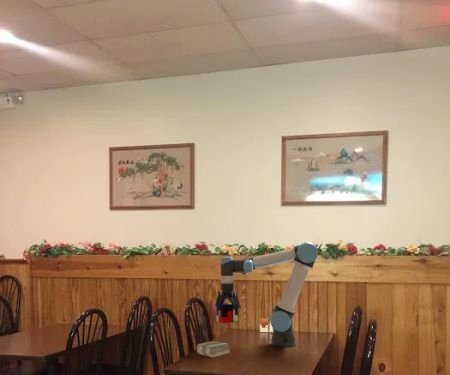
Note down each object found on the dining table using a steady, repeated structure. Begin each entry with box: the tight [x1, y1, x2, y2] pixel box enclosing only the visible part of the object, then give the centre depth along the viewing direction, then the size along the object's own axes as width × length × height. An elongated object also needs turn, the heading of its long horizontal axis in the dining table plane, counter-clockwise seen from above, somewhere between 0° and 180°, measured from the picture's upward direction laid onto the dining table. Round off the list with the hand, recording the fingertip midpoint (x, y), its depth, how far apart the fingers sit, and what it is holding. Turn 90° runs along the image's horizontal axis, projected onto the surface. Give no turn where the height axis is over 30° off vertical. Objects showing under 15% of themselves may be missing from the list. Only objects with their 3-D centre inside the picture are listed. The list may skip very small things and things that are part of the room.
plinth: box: [196, 340, 231, 358], centre depth 266 cm, size 13×13×5 cm
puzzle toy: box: [215, 302, 239, 324], centre depth 280 cm, size 10×10×10 cm
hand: (228, 319), depth 280 cm, fingers closed on puzzle toy, 12 cm apart
